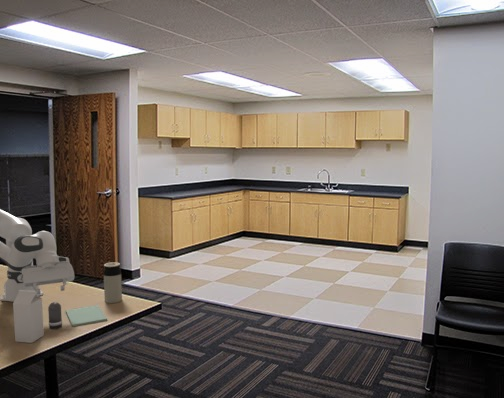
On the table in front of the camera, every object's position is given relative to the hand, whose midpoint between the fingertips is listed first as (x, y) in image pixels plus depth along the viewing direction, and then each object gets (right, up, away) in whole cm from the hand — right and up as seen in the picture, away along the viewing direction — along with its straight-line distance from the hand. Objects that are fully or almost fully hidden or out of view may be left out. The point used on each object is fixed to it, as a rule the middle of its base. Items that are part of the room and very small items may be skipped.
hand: (50, 291), depth 194 cm
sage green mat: (+12, -12, +7) cm, 19 cm away
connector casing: (+5, -13, -6) cm, 15 cm away
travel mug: (+18, -10, +27) cm, 34 cm away
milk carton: (0, -15, -18) cm, 23 cm away
